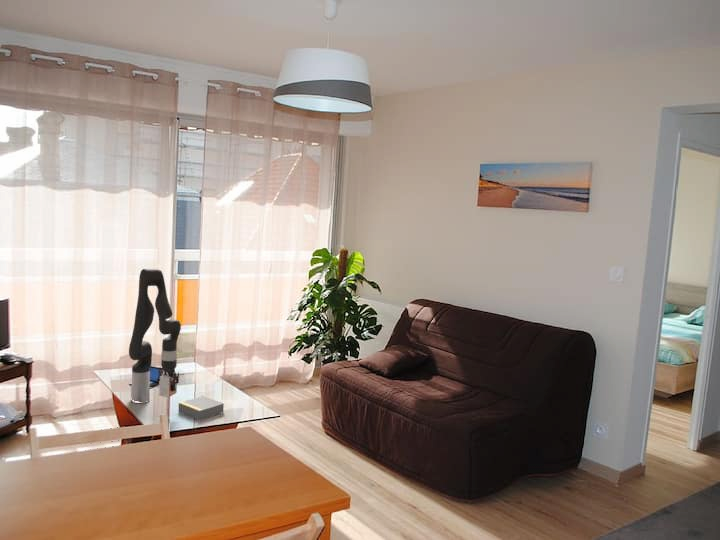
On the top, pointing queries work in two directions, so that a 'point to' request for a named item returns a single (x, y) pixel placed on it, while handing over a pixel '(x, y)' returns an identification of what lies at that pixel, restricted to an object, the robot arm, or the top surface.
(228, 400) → the top surface
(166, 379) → the small box
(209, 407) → the loading dock
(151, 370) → the laptop
